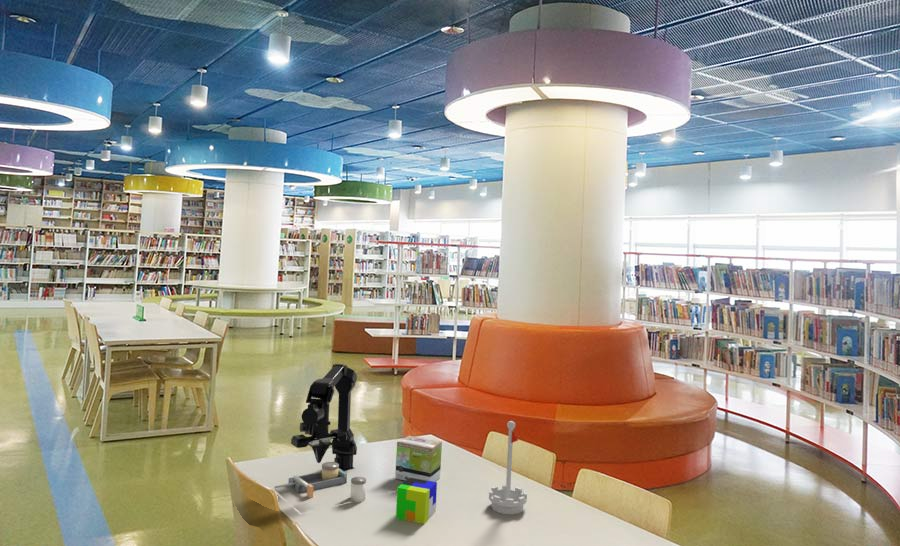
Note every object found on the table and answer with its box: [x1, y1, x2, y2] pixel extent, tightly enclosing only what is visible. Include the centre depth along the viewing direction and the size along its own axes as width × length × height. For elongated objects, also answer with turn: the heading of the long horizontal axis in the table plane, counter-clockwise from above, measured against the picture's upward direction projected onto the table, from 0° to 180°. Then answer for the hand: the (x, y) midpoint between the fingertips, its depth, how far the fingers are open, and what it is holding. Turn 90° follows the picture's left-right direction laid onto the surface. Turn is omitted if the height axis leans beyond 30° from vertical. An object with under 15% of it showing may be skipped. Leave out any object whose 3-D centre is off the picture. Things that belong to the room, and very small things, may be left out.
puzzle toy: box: [395, 477, 438, 525], centre depth 191 cm, size 10×10×10 cm
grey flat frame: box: [287, 468, 348, 494], centre depth 213 cm, size 18×10×4 cm, turn 128°
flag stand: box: [488, 420, 528, 515], centre depth 200 cm, size 13×13×30 cm
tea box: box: [394, 435, 443, 482], centre depth 223 cm, size 15×10×15 cm, turn 68°
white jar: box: [350, 476, 367, 503], centre depth 201 cm, size 5×5×7 cm
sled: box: [273, 474, 314, 499], centre depth 203 cm, size 10×14×4 cm
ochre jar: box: [321, 461, 339, 481], centre depth 216 cm, size 6×6×6 cm
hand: (318, 462), depth 202 cm, fingers closed
